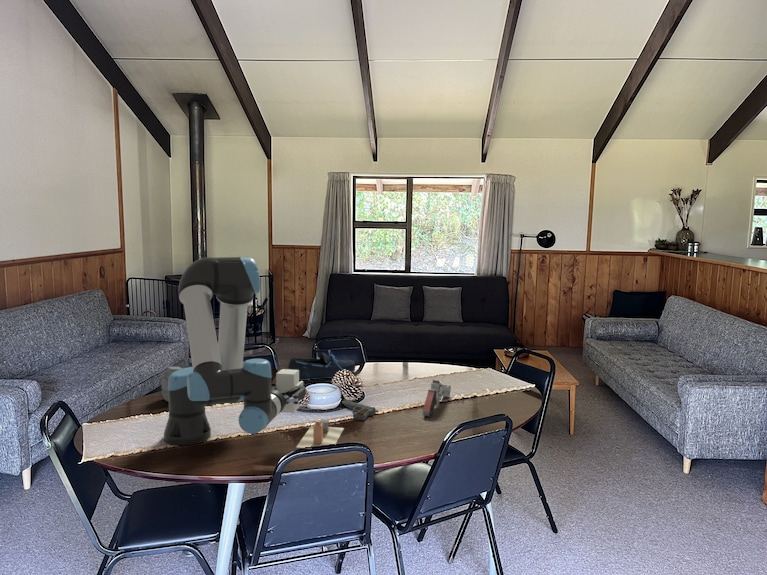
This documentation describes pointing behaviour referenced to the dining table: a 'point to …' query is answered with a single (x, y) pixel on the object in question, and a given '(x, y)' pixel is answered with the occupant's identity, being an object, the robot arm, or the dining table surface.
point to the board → (328, 436)
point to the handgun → (360, 410)
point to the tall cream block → (287, 386)
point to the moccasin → (320, 366)
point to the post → (318, 432)
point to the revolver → (435, 396)
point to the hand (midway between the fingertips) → (292, 384)
